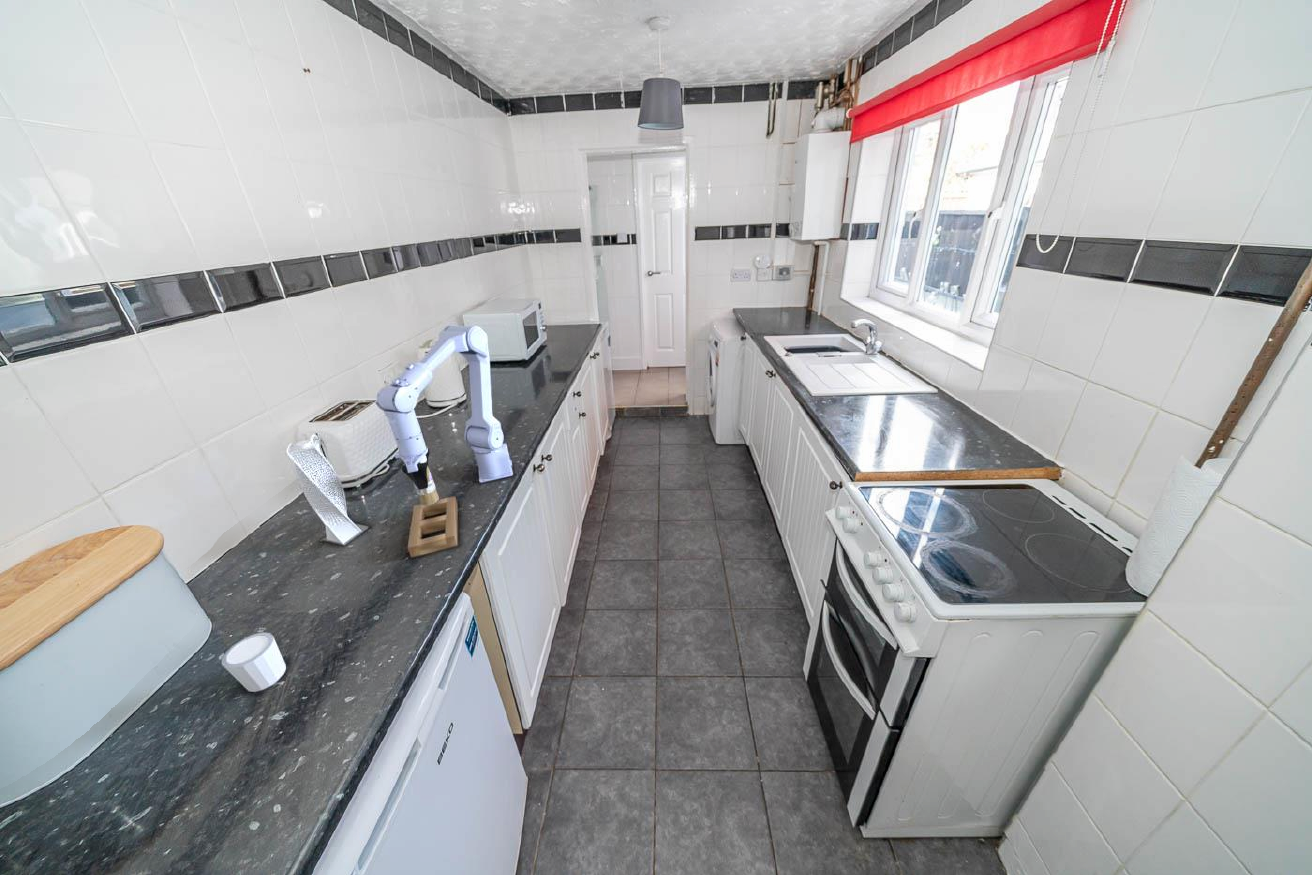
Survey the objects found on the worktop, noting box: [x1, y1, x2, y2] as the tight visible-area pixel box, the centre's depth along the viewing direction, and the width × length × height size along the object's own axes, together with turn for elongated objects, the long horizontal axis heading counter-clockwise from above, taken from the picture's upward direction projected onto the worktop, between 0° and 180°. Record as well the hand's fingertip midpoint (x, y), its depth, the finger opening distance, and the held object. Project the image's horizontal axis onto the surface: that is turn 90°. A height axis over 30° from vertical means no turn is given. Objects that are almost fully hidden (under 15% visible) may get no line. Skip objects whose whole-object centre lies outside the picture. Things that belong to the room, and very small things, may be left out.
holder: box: [407, 495, 459, 558], centre depth 112 cm, size 10×18×3 cm, turn 21°
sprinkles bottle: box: [412, 455, 440, 506], centre depth 112 cm, size 5×5×13 cm
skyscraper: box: [285, 433, 370, 546], centre depth 106 cm, size 8×8×28 cm
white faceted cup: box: [221, 632, 287, 693], centre depth 77 cm, size 7×7×7 cm
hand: (424, 483), depth 113 cm, fingers closed on sprinkles bottle, 4 cm apart
